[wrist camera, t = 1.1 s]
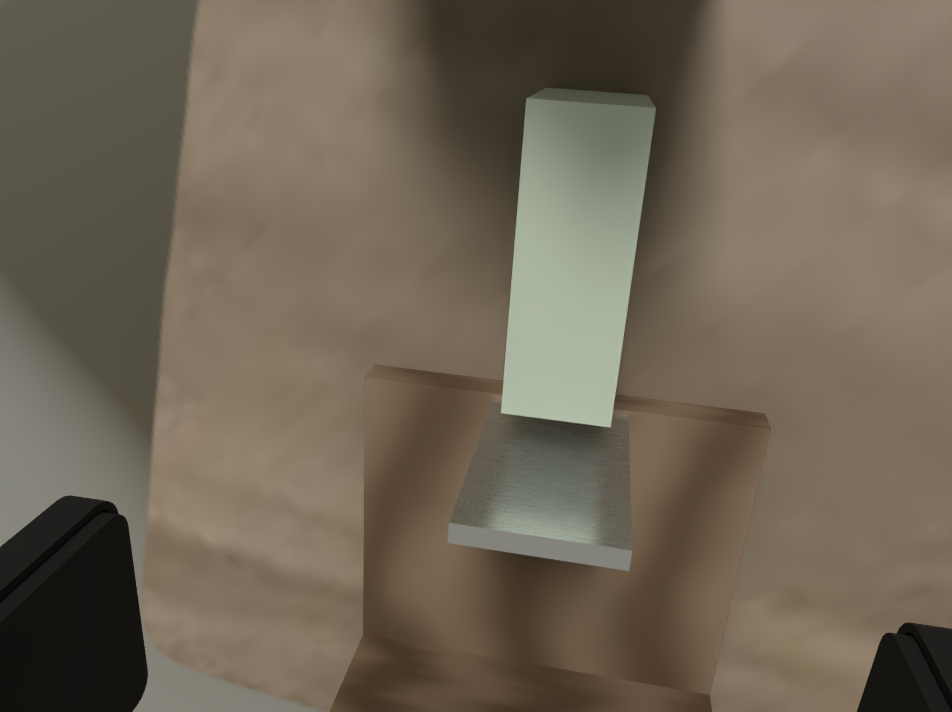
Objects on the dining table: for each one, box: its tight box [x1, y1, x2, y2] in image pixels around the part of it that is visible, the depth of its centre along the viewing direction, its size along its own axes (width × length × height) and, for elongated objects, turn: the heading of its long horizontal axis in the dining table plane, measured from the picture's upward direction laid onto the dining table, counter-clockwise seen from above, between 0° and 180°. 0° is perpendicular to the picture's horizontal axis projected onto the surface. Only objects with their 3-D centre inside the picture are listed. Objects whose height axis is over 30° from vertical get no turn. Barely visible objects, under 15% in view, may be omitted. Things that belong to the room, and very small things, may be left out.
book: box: [501, 88, 656, 427], centre depth 29 cm, size 4×11×8 cm, turn 177°
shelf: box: [330, 365, 771, 712], centre depth 33 cm, size 18×16×12 cm
